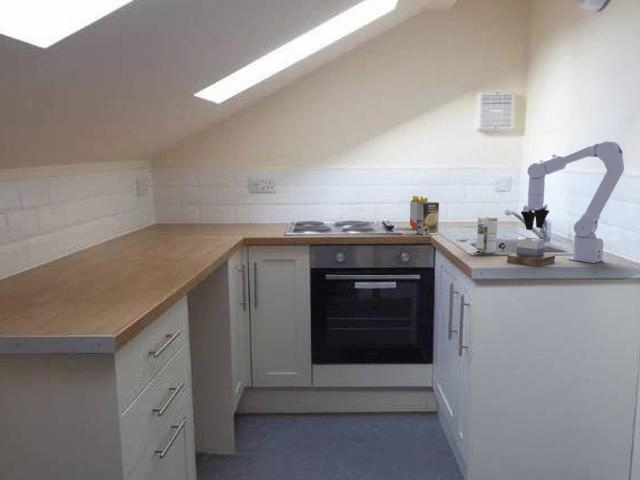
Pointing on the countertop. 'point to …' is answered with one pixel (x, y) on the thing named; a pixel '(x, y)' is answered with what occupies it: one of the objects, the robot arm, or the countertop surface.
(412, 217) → the french fries container
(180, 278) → the countertop surface
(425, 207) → the coffee box
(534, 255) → the block
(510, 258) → the stand
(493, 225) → the syrup box
